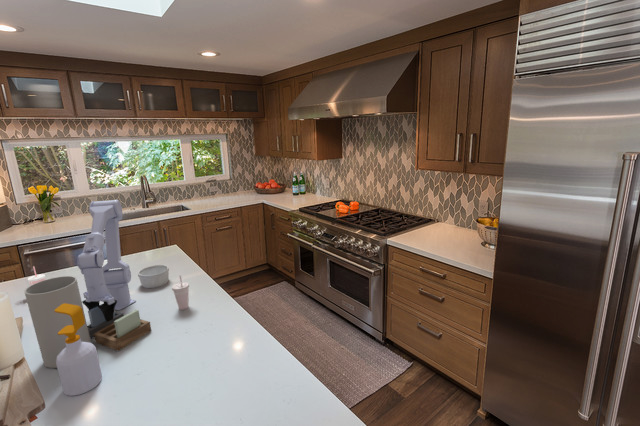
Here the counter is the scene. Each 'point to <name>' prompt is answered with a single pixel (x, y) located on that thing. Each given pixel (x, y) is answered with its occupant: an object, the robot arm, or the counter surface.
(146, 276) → the ramekin
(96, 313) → the blue grey tile
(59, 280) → the cylinder vase
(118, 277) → the robot arm
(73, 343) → the soap bottle
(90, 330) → the stand
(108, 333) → the rack
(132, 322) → the thin sage green tile
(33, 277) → the beverage cup
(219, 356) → the counter surface
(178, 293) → the smoothie
